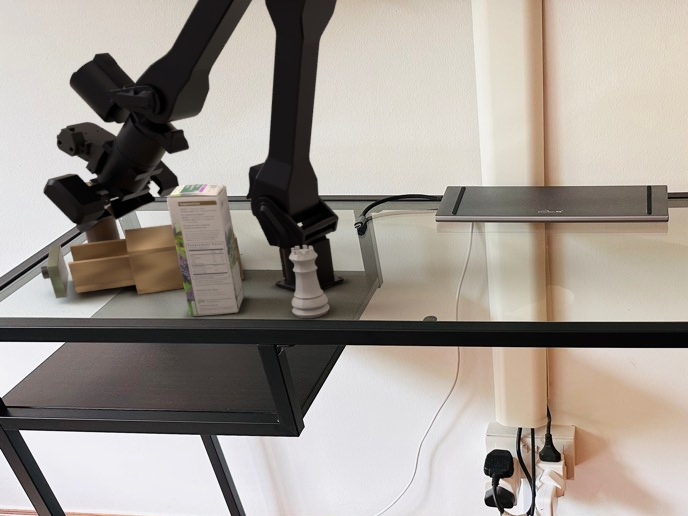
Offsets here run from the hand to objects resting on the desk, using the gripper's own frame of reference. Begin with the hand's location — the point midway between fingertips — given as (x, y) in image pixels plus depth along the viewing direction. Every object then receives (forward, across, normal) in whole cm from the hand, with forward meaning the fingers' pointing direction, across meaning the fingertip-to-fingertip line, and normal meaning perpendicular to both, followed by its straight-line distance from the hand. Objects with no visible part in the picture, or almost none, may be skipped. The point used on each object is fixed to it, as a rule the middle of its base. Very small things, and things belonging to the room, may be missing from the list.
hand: (92, 225), depth 117 cm
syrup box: (-16, +11, +24) cm, 31 cm away
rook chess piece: (-25, +9, +32) cm, 42 cm away
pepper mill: (+2, 0, +5) cm, 5 cm away
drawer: (-3, +9, +9) cm, 13 cm away
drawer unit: (-8, +2, +15) cm, 17 cm away
